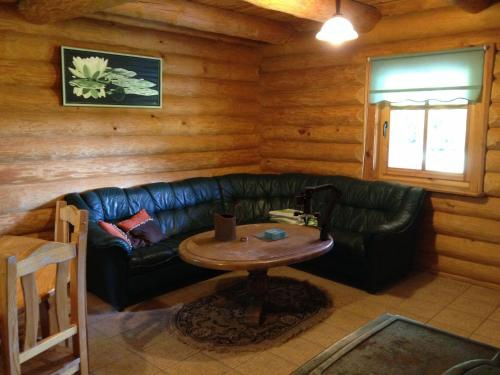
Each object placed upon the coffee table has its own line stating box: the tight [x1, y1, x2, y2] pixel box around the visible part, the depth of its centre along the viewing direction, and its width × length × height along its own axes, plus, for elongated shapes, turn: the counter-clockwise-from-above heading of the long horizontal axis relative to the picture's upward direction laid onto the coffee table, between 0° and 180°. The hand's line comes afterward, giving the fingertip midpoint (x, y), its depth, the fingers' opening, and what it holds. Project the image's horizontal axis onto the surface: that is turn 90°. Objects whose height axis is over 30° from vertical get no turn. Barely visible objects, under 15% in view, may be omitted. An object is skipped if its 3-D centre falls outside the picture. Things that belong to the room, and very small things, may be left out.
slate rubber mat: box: [251, 231, 291, 242], centre depth 333 cm, size 22×20×1 cm
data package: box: [264, 228, 286, 241], centre depth 328 cm, size 12×4×12 cm
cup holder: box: [212, 203, 244, 243], centre depth 326 cm, size 18×24×25 cm
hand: (306, 226), depth 315 cm, fingers closed
